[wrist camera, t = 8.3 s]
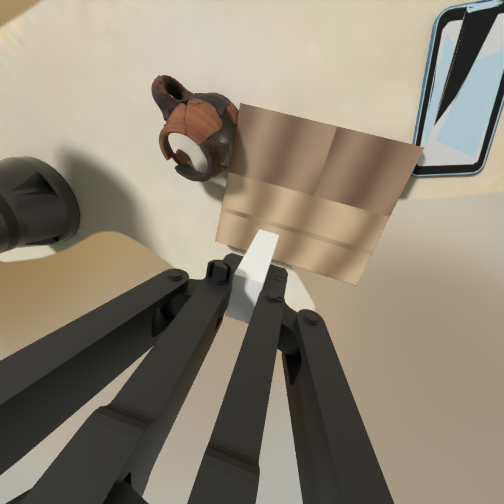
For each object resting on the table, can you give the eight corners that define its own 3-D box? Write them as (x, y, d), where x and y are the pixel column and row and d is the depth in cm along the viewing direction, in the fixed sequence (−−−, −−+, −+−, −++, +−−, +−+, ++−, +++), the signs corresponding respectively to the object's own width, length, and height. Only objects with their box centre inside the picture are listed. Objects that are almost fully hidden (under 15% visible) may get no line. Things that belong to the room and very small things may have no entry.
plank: (218, 238, 37) (215, 241, 36) (232, 171, 34) (228, 172, 32) (354, 280, 35) (356, 285, 33) (385, 214, 31) (389, 216, 30)
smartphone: (407, 177, 29) (437, 8, 22) (404, 175, 30) (433, 13, 23) (482, 173, 27) (539, -11, 20) (477, 172, 28) (530, -6, 21)
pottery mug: (262, 131, 31) (234, 168, 27) (222, 164, 38) (195, 198, 34) (191, 38, 26) (142, 66, 22) (160, 96, 33) (119, 125, 29)
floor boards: (232, 170, 34) (228, 172, 32) (243, 104, 30) (240, 103, 28) (386, 213, 31) (389, 216, 30) (419, 147, 27) (424, 147, 26)
